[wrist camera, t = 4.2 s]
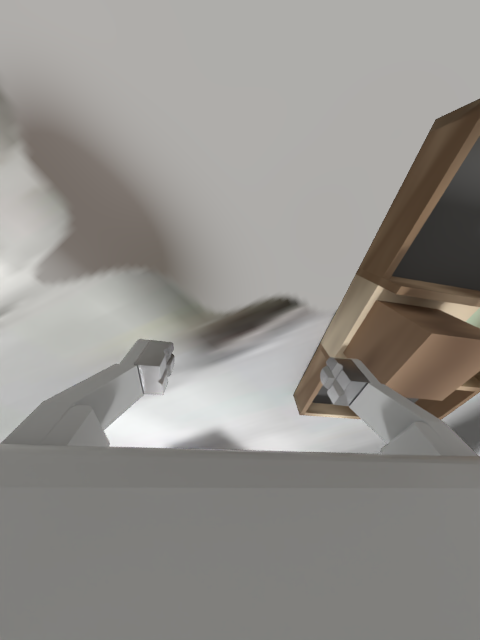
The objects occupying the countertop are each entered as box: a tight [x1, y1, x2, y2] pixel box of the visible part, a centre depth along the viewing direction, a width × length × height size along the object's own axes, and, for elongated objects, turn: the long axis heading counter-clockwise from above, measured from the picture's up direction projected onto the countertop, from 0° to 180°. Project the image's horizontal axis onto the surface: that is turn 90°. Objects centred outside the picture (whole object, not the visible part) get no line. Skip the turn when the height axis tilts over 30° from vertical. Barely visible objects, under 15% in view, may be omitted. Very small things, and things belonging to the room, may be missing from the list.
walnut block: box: [343, 300, 480, 401], centre depth 12 cm, size 5×5×4 cm
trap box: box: [293, 99, 480, 420], centre depth 14 cm, size 15×24×4 cm, turn 171°
